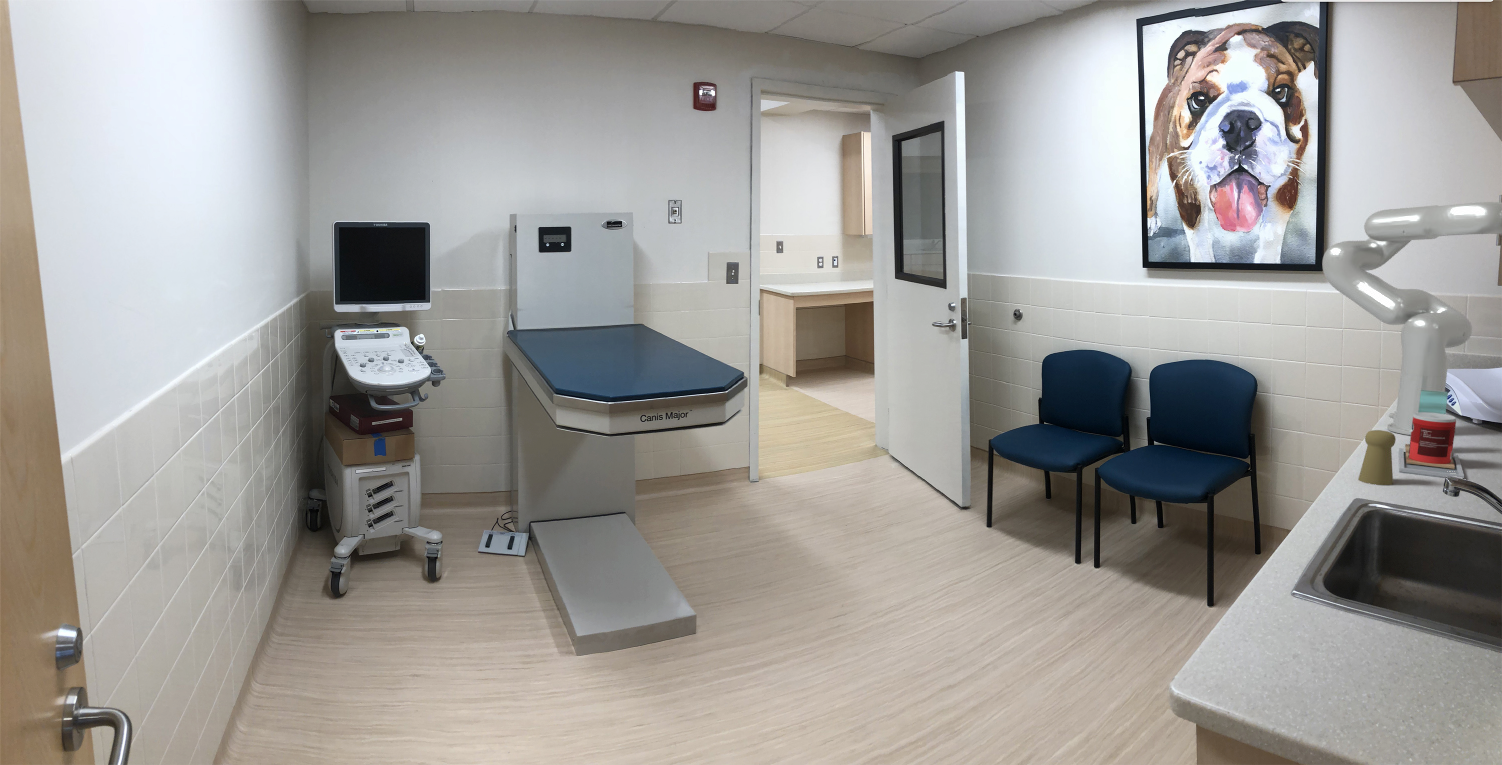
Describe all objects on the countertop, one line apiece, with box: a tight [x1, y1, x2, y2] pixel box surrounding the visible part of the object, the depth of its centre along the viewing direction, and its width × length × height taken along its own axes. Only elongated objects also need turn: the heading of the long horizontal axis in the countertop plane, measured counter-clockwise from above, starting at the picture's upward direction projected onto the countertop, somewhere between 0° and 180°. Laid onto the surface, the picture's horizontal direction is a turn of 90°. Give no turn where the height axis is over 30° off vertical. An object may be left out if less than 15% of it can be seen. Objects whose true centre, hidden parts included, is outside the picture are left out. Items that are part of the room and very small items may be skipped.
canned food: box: [1408, 412, 1457, 467], centre depth 195 cm, size 8×8×11 cm
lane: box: [1398, 448, 1465, 479], centre depth 195 cm, size 22×11×1 cm, turn 143°
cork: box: [1358, 429, 1396, 486], centre depth 182 cm, size 6×6×11 cm
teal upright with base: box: [1404, 390, 1455, 469], centre depth 199 cm, size 21×8×14 cm, turn 143°
